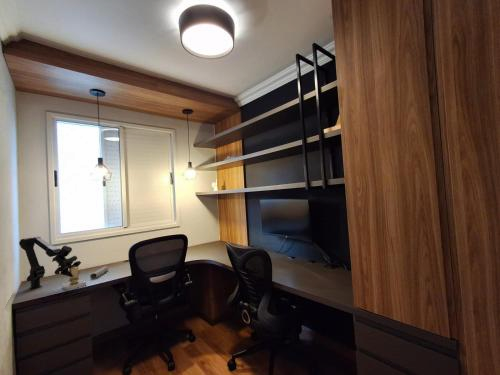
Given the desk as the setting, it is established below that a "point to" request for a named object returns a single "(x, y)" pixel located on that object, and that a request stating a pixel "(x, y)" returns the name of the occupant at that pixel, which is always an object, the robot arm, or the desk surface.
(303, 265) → the desk surface
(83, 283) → the housing
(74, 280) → the cover
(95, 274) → the tube
